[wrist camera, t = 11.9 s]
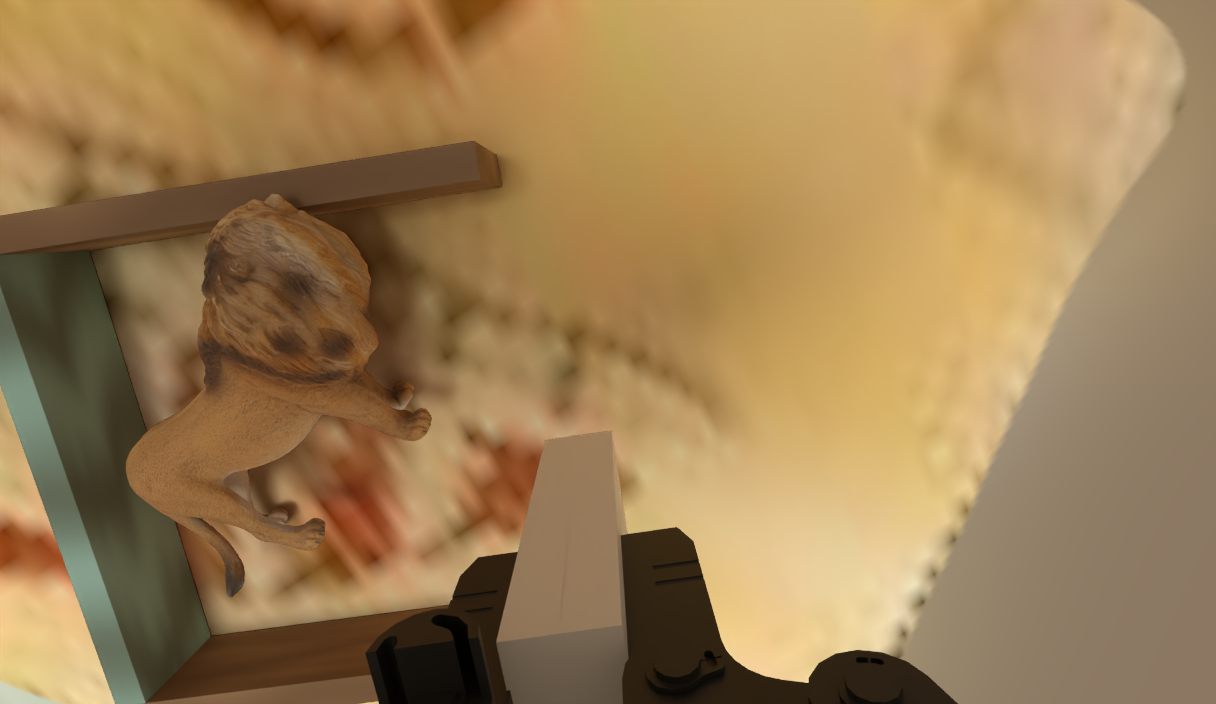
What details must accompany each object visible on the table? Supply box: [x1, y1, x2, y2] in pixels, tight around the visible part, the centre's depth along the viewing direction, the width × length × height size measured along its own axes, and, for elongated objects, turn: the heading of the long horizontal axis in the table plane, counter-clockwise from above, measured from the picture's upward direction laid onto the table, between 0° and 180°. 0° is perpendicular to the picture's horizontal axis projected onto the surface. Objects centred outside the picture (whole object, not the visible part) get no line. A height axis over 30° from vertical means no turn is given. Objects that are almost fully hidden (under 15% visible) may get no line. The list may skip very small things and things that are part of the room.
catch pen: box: [0, 141, 502, 704], centre depth 24 cm, size 20×18×4 cm
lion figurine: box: [126, 194, 432, 597], centre depth 22 cm, size 15×5×9 cm
